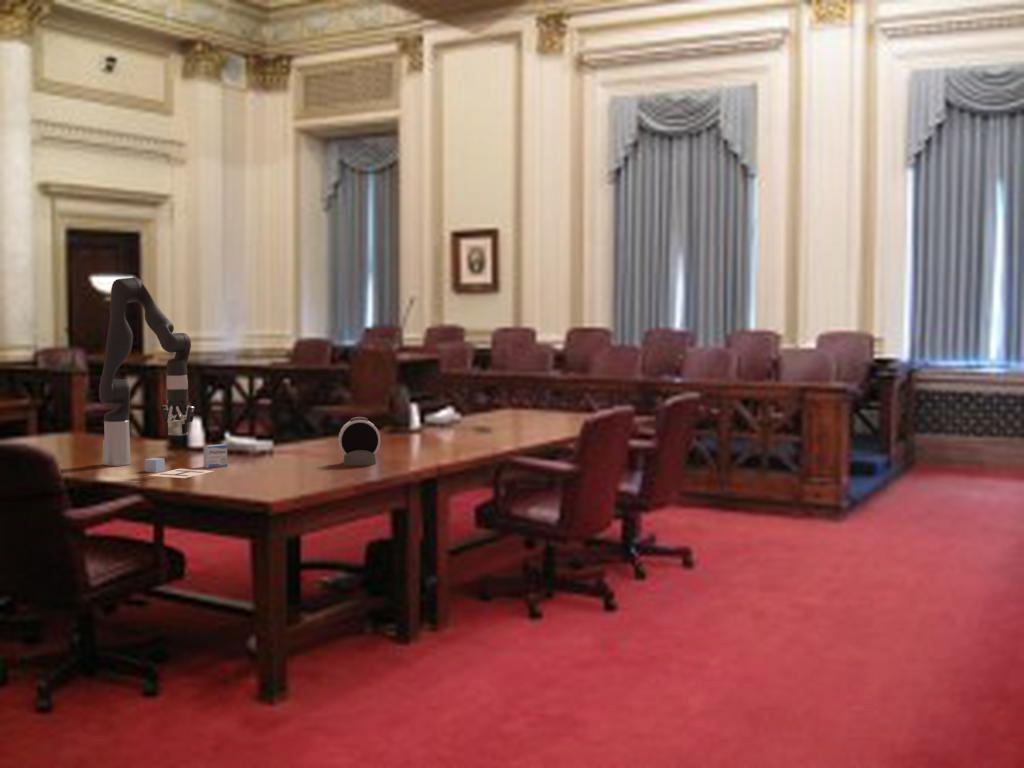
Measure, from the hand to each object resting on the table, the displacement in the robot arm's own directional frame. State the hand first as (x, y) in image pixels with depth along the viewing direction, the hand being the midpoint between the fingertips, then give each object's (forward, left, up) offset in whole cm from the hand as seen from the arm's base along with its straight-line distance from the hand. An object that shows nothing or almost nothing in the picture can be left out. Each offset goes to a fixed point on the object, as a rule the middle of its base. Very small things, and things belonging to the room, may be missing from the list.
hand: (178, 433), depth 429 cm
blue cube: (-12, +2, -15) cm, 20 cm away
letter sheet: (+1, +1, -15) cm, 15 cm away
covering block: (0, 0, 0) cm, 0 cm away
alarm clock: (+48, +50, -15) cm, 71 cm away
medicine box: (+2, +20, -15) cm, 25 cm away
